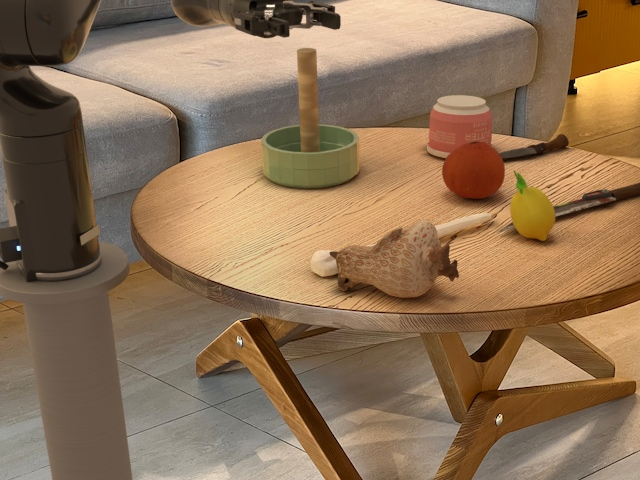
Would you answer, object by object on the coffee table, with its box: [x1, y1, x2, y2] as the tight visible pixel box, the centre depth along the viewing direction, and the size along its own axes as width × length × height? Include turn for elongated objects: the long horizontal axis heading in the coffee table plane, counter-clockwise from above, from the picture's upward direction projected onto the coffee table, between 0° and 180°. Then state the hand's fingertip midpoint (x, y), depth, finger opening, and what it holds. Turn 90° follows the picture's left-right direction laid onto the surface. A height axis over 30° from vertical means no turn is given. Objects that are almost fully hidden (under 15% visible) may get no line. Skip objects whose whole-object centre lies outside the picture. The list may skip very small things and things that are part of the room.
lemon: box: [509, 170, 556, 242], centre depth 141 cm, size 7×6×10 cm
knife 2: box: [496, 182, 640, 234], centre depth 150 cm, size 3×2×30 cm
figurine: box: [330, 219, 460, 299], centre depth 127 cm, size 9×10×15 cm
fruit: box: [441, 141, 506, 200], centre depth 154 cm, size 9×9×8 cm
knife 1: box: [498, 133, 570, 160], centre depth 172 cm, size 17×2×5 cm
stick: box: [296, 47, 320, 152], centre depth 161 cm, size 4×4×18 cm
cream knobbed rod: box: [310, 212, 492, 278], centre depth 139 cm, size 28×4×3 cm, turn 128°
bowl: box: [260, 123, 361, 189], centre depth 164 cm, size 14×14×6 cm
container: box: [426, 94, 494, 159], centre depth 172 cm, size 10×10×8 cm
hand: (313, 26), depth 154 cm, fingers open, 8 cm apart
